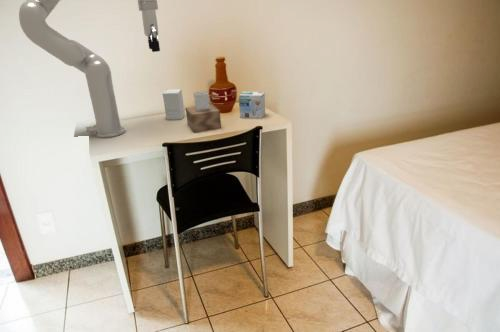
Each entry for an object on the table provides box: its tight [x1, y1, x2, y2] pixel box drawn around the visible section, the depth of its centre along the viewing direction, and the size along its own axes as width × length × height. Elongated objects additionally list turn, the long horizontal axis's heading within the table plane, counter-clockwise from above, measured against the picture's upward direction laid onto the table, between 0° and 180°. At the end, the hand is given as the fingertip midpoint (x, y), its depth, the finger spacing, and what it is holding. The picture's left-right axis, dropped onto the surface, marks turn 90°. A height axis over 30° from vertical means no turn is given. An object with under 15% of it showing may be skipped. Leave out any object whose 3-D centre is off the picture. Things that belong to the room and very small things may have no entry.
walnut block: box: [185, 103, 222, 134], centre depth 172 cm, size 12×12×8 cm
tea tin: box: [193, 90, 210, 112], centre depth 169 cm, size 6×6×7 cm
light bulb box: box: [238, 91, 266, 120], centre depth 181 cm, size 11×7×11 cm, turn 73°
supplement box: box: [162, 88, 186, 121], centre depth 185 cm, size 7×7×13 cm
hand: (154, 50), depth 167 cm, fingers open, 9 cm apart
